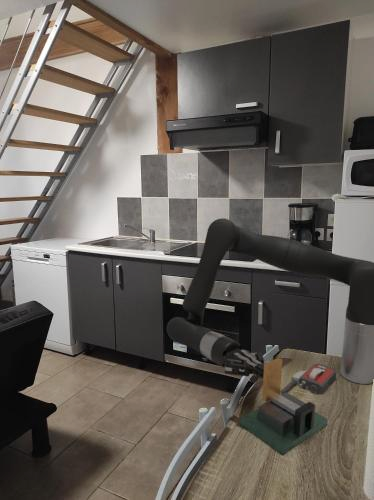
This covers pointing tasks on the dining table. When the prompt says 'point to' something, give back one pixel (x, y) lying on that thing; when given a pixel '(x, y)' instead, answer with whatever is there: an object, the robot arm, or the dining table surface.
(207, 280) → the robot arm
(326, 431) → the dining table surface
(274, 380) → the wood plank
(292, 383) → the walkie-talkie
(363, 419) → the dining table surface
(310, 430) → the green tiered platform
